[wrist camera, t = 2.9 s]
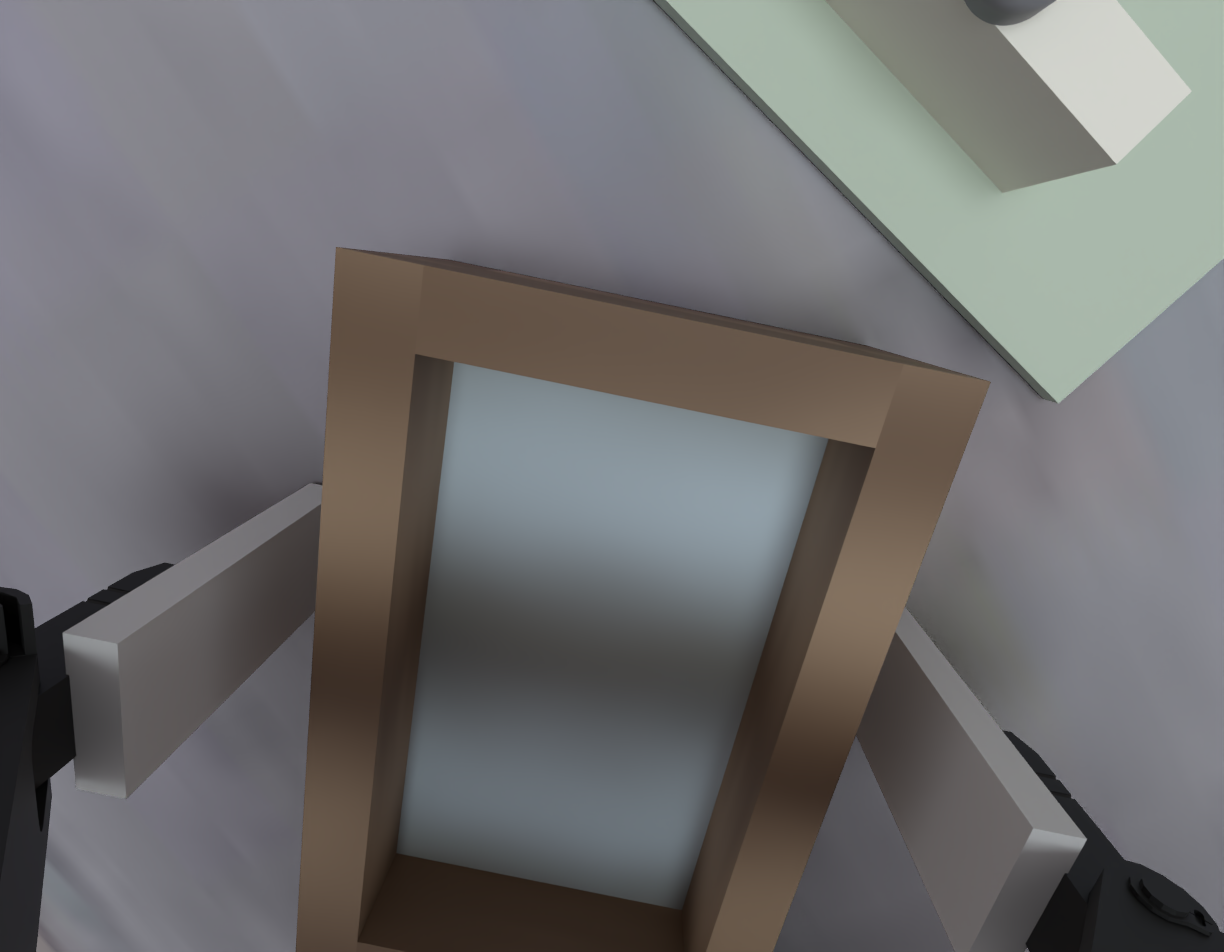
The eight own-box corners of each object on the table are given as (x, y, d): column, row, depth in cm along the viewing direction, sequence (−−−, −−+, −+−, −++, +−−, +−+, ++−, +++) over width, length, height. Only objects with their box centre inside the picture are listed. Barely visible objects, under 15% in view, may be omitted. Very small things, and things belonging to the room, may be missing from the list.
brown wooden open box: (708, 846, 17) (731, 1059, 13) (391, 783, 17) (294, 972, 13) (867, 345, 13) (990, 381, 8) (448, 259, 13) (336, 247, 8)
